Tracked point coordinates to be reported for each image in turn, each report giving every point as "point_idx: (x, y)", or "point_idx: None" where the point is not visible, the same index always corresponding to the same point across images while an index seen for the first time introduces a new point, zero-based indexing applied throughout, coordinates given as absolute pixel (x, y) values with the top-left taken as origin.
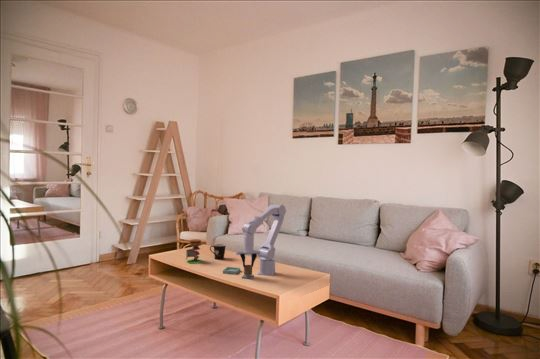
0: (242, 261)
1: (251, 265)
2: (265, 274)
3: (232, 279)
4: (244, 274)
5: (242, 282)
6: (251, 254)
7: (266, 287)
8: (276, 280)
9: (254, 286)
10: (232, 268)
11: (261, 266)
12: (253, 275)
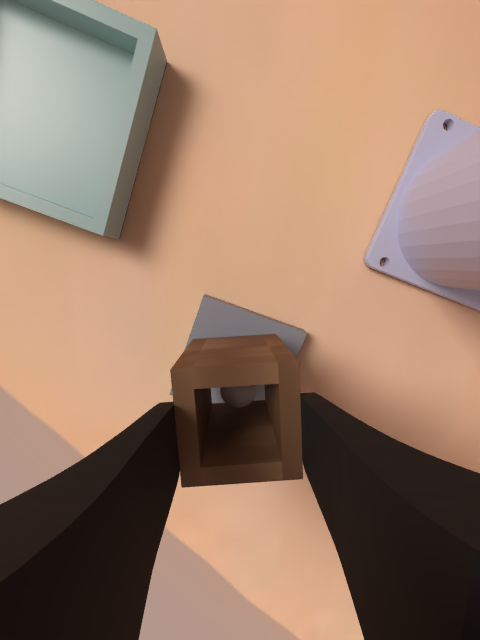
0: (105, 452)
1: (300, 423)
2: (439, 293)
3: (82, 415)
4: (205, 308)
5: (173, 499)
6: (470, 580)
7: (342, 608)
8: (476, 466)
9: (259, 587)
10: (44, 6)
11: (475, 257)
12: (298, 353)
